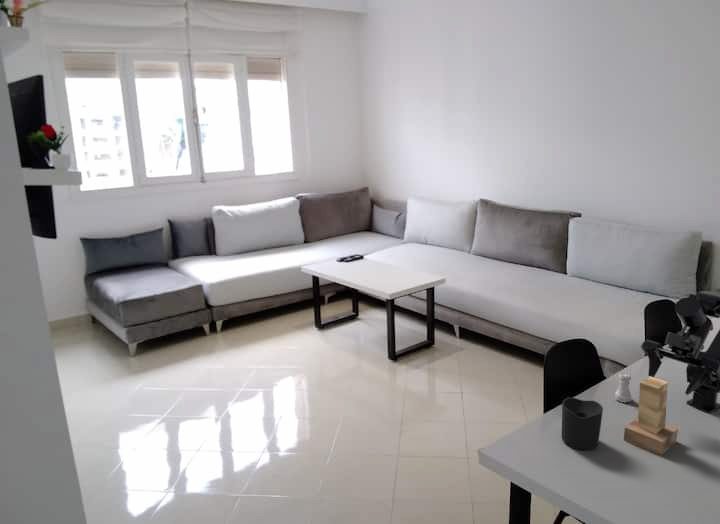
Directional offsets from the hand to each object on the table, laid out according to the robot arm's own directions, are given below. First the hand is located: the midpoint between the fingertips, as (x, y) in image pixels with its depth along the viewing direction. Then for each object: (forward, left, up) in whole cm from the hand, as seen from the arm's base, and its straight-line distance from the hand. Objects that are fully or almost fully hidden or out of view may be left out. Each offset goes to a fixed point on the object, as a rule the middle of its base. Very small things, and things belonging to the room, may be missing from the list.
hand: (667, 387), depth 138 cm
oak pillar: (+6, +1, -9) cm, 11 cm away
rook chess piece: (-7, -16, -13) cm, 22 cm away
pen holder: (+21, -8, -13) cm, 26 cm away
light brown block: (+6, +1, -13) cm, 15 cm away
